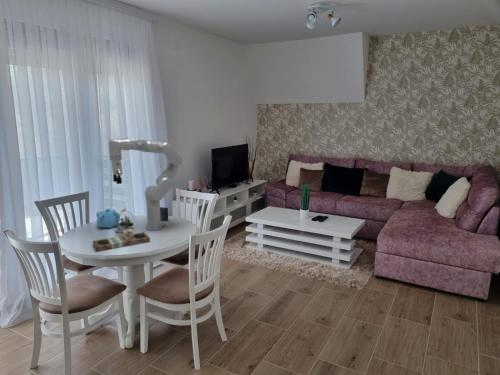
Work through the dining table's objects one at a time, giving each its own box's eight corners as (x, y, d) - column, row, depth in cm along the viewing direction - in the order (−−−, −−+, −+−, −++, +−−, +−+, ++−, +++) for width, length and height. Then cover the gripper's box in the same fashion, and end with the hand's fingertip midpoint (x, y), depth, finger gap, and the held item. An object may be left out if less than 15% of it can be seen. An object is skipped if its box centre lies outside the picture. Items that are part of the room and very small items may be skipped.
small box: (168, 220, 284) (168, 207, 282) (164, 222, 278) (163, 209, 276) (157, 219, 288) (156, 206, 286) (152, 221, 282) (152, 208, 280)
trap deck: (144, 236, 247) (143, 232, 246) (149, 241, 236) (149, 237, 235) (93, 245, 229) (92, 240, 229) (96, 251, 219) (96, 247, 218)
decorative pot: (121, 227, 265) (120, 210, 263) (98, 230, 258) (96, 212, 256) (118, 222, 280) (117, 205, 277) (96, 224, 273) (95, 207, 270)
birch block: (131, 235, 238) (130, 228, 237) (133, 238, 233) (133, 231, 232) (123, 237, 236) (123, 230, 235) (125, 239, 231) (125, 232, 230)
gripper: (124, 158, 237) (126, 184, 240) (118, 156, 251) (120, 180, 255) (112, 159, 233) (114, 185, 236) (107, 157, 247) (109, 181, 251)
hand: (117, 182), depth 246 cm, fingers open, 9 cm apart
